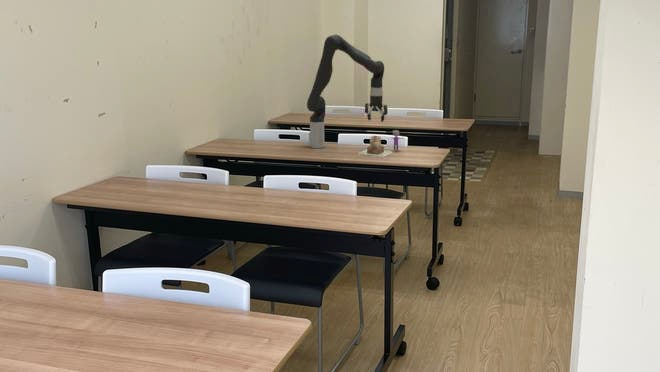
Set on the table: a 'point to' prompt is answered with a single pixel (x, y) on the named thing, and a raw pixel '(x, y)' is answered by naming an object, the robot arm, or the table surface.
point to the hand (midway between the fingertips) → (375, 120)
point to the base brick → (375, 150)
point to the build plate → (376, 154)
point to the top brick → (375, 141)
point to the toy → (396, 139)
